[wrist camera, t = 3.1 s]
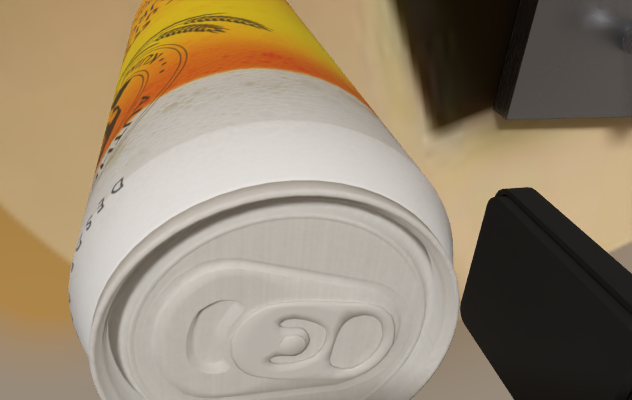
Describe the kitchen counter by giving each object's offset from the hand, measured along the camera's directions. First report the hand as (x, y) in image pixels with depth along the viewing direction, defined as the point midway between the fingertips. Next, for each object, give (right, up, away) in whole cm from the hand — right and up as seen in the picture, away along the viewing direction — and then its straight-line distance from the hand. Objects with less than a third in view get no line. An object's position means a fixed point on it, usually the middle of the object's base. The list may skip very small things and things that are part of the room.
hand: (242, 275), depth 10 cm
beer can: (-2, +7, +11) cm, 13 cm away
